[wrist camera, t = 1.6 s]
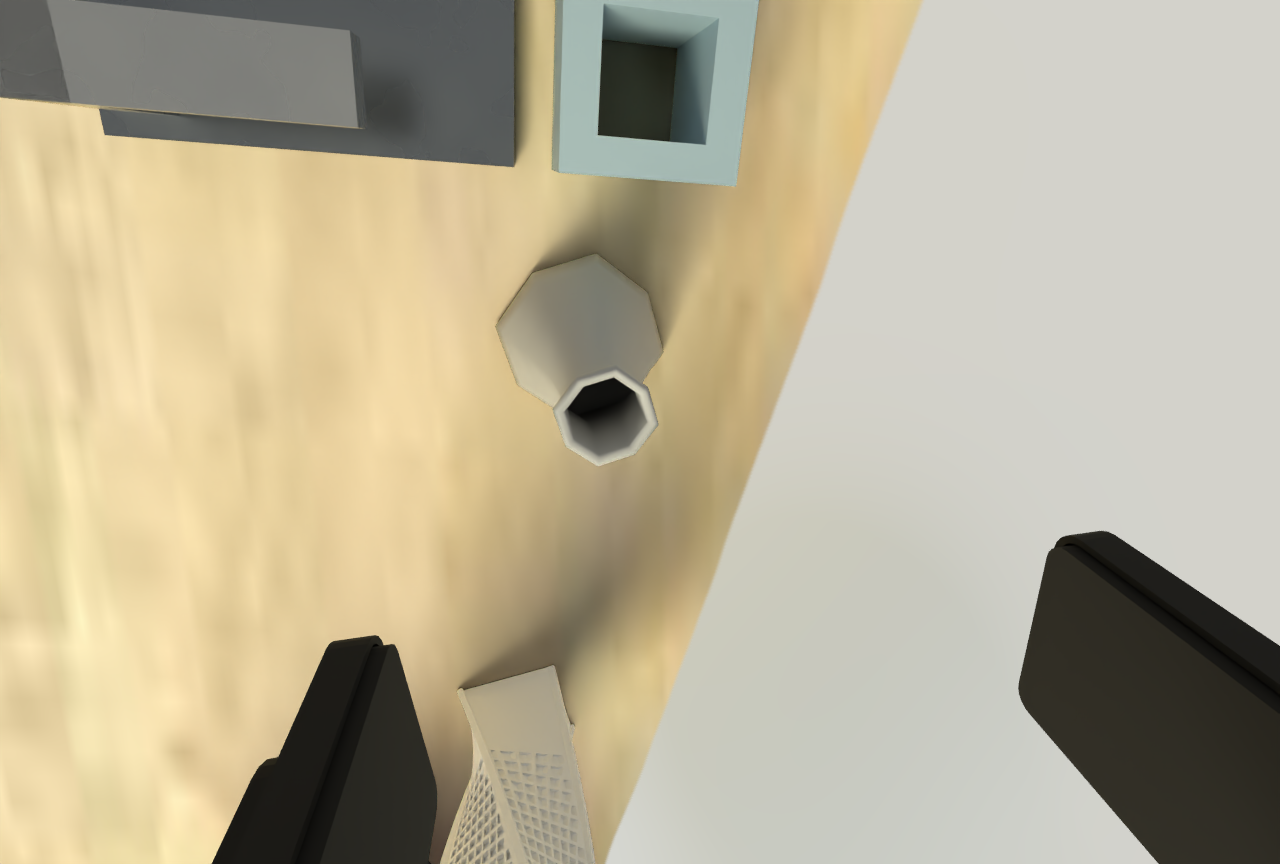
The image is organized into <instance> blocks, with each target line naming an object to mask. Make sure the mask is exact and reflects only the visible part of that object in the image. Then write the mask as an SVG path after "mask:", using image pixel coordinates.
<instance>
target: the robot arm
mask: <svg viewBox="0 0 1280 864" xmlns="http://www.w3.org/2000/svg"><path fill="white" fill-rule="evenodd" d="M1018 689H1019V695H1020V698H1021V701H1022V703H1023V705H1024V707H1025V708H1026V710H1027V711H1028V713H1029V714H1030V715H1031V716H1032V717H1033V718H1034V719H1035V721H1036V722H1037V723H1038V724H1039V725H1040V726H1041V728H1042V729H1043V730H1044V731H1045V732H1046V733H1047V735H1048V736H1049V737H1050V738H1051V739H1052V740H1053V741H1054V743H1055V744H1056V745H1057V746H1058V747H1059V749H1060V750H1061V751H1062V752H1063V753H1064V754H1065V755H1066V757H1067V758H1068V759H1069V760H1070V761H1071V763H1073V765H1074V766H1075V767H1076V768H1077V769H1078V771H1079V772H1080V773H1081V774H1082V775H1083V776H1084V778H1085V779H1086V780H1087V781H1088V782H1089V783H1090V785H1091V786H1092V787H1093V788H1094V789H1095V790H1096V792H1097V793H1098V794H1099V795H1100V796H1101V797H1102V798H1103V799H1104V800H1105V802H1106V803H1107V804H1108V805H1109V807H1110V808H1111V809H1112V810H1113V811H1114V812H1115V814H1116V815H1117V816H1118V817H1119V818H1120V819H1121V821H1122V822H1123V823H1124V824H1125V825H1126V826H1127V827H1128V828H1129V830H1130V831H1131V832H1132V833H1133V834H1134V836H1135V837H1136V838H1137V839H1138V840H1139V841H1140V843H1141V844H1142V845H1143V846H1144V847H1145V848H1146V850H1147V851H1148V852H1149V853H1150V854H1151V855H1152V857H1154V859H1155V860H1156V861H1157V862H1158V863H1159V864H1280V646H1279V645H1278V644H1276V643H1275V642H1273V641H1272V640H1270V639H1269V638H1267V637H1266V636H1264V635H1263V634H1261V633H1260V632H1258V631H1257V630H1255V629H1254V628H1252V627H1251V626H1249V625H1248V624H1246V623H1245V622H1243V621H1242V620H1240V619H1239V618H1237V617H1236V616H1234V615H1233V614H1231V613H1230V612H1228V611H1227V610H1225V609H1224V608H1223V607H1221V606H1220V605H1218V604H1217V603H1215V602H1214V601H1212V600H1211V599H1209V598H1208V597H1206V596H1205V595H1203V594H1202V593H1200V592H1199V591H1197V590H1196V589H1194V588H1193V587H1191V586H1190V585H1188V584H1187V583H1185V582H1184V581H1182V580H1181V579H1179V578H1178V577H1176V576H1175V575H1174V574H1172V573H1170V572H1169V571H1168V570H1166V569H1164V568H1163V567H1162V566H1160V565H1159V564H1157V563H1155V562H1154V561H1153V560H1151V559H1150V558H1148V557H1147V556H1145V555H1144V554H1142V553H1141V552H1139V551H1138V550H1136V549H1135V548H1133V547H1132V546H1130V545H1129V544H1127V543H1126V542H1124V541H1123V540H1121V539H1120V538H1118V537H1117V536H1116V535H1114V534H1111V533H1109V532H1105V531H1097V532H1089V533H1083V534H1075V535H1069V536H1065V537H1062V538H1060V539H1059V540H1058V541H1057V543H1056V545H1055V547H1054V549H1051V551H1049V553H1048V555H1047V559H1046V563H1045V568H1044V572H1043V577H1042V581H1041V586H1040V590H1039V595H1038V599H1037V604H1036V609H1035V613H1034V617H1033V622H1032V626H1031V631H1030V635H1029V640H1028V644H1027V649H1026V653H1025V658H1024V662H1023V667H1022V671H1021V676H1020V680H1019V688H1018ZM436 809H437V788H436V782H435V778H434V775H433V771H432V768H431V764H430V761H429V757H428V754H427V750H426V747H425V743H424V740H423V736H422V733H421V730H420V726H419V723H418V719H417V716H416V712H415V709H414V705H413V702H412V698H411V695H410V691H409V688H408V684H407V681H406V678H405V674H404V671H403V667H402V664H401V660H400V657H399V653H398V650H397V648H396V646H395V645H393V644H390V645H383V643H382V640H381V639H380V638H379V636H376V635H374V636H367V637H360V638H353V639H346V640H339V641H333V642H332V643H330V644H329V645H328V647H327V649H326V650H325V653H324V655H323V657H322V660H321V662H320V664H319V666H318V669H317V671H316V673H315V675H314V678H313V680H312V682H311V684H310V687H309V689H308V691H307V693H306V696H305V698H304V700H303V702H302V705H301V707H300V709H299V712H298V714H297V716H296V718H295V721H294V723H293V725H292V727H291V730H290V732H289V734H288V736H287V739H286V741H285V743H284V745H283V748H282V750H281V752H280V754H279V757H277V758H272V759H267V760H266V761H265V762H264V763H263V764H262V765H260V766H259V768H258V769H257V771H256V773H255V774H254V776H253V778H252V779H251V781H250V783H249V785H248V788H247V790H246V792H245V794H244V796H243V798H242V800H241V802H240V805H239V807H238V809H237V811H236V813H235V815H234V817H233V820H232V822H231V824H230V826H229V828H228V830H227V832H226V834H225V837H224V839H223V841H222V843H221V845H220V847H219V849H218V851H217V854H216V856H215V858H214V860H213V862H212V864H428V859H429V853H430V847H431V841H432V835H433V829H434V823H435V817H436Z"/></svg>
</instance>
